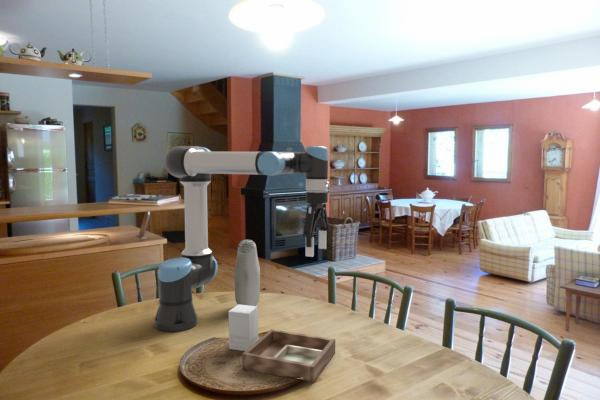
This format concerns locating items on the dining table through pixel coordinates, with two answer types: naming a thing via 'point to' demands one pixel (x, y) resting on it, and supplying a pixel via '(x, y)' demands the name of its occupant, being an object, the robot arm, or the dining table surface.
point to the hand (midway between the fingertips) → (316, 252)
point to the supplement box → (243, 327)
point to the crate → (289, 355)
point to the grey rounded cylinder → (247, 274)
